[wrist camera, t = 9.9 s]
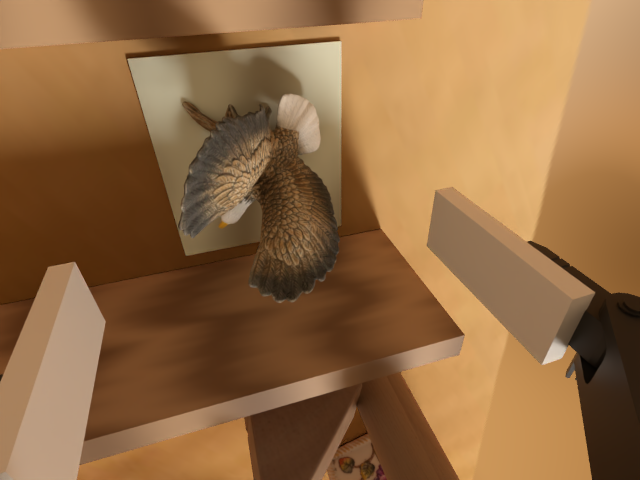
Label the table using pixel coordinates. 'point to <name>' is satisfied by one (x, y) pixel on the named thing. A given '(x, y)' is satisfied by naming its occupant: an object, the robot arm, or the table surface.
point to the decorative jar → (356, 462)
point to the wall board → (233, 234)
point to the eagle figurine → (266, 193)
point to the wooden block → (331, 425)
